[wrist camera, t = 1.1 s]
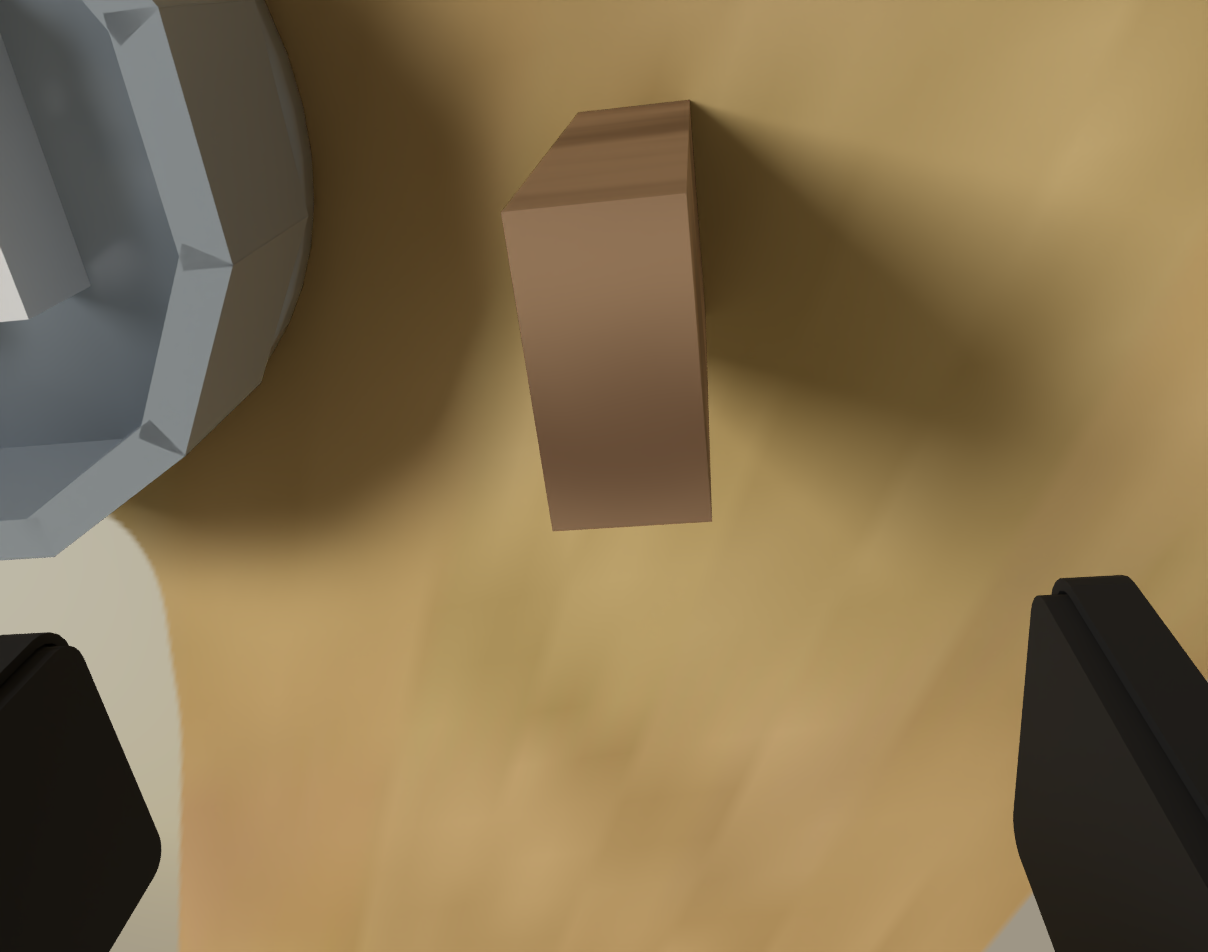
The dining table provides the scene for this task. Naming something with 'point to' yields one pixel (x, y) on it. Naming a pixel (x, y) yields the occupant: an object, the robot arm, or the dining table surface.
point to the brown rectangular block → (615, 319)
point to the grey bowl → (137, 243)
